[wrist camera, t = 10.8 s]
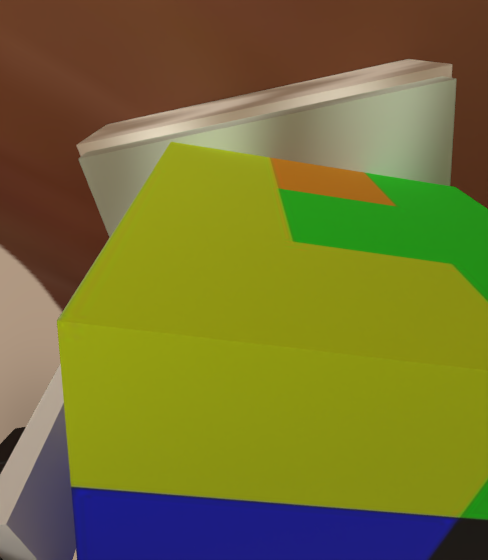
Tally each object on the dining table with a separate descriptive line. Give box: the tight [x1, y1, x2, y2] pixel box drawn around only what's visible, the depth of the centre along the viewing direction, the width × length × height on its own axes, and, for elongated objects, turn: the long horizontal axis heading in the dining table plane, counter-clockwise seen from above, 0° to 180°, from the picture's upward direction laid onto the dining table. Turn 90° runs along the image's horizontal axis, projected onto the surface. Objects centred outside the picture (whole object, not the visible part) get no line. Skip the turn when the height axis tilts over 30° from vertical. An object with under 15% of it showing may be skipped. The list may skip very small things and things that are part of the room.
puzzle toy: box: [57, 142, 488, 560], centre depth 12 cm, size 10×10×10 cm
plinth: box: [76, 59, 456, 237], centre depth 19 cm, size 13×13×5 cm
